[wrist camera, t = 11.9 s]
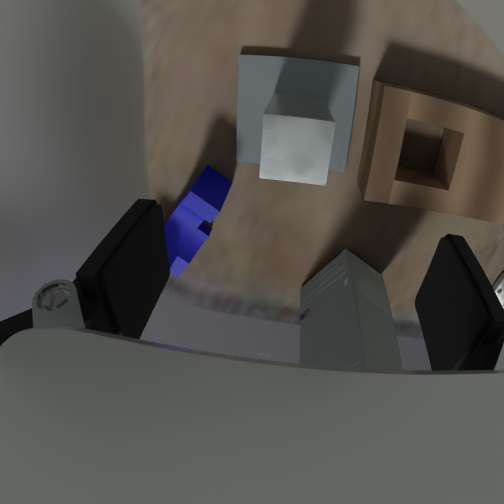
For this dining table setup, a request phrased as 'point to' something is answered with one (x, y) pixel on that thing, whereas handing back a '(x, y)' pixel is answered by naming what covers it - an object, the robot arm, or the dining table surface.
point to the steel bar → (296, 138)
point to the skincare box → (347, 318)
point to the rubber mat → (295, 80)
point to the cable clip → (194, 218)
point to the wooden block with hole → (448, 161)
